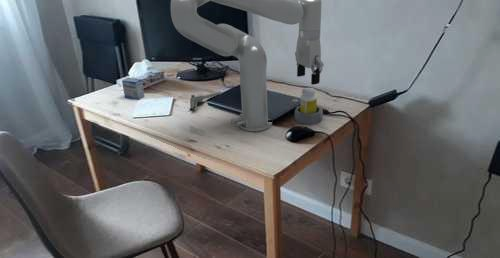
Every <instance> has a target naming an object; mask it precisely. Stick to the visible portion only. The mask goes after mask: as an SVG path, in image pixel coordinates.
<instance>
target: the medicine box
mask: <svg viewBox="0 0 500 258" xmlns="http://www.w3.org/2000/svg"><path fill="white" fill-rule="evenodd" d="M121 84H122V88H123V94H124V98H125V99H128V100H137V101H140V100H141V99H143V98H144V97H145V91H144V85H143V79H142V78H133V77H127V78H124V79H122V80H121Z"/></svg>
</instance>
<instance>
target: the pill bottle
mask: <svg viewBox="0 0 500 258" xmlns="http://www.w3.org/2000/svg"><path fill="white" fill-rule="evenodd" d="M315 92H316V91H315V89H314V88H313V87H305V88H302V89H301V95H300V98H299V99H300V101H299V102H300V103H299V106H300V112H301V113H303V114H314V113H316V108H317V95H316V94H315Z"/></svg>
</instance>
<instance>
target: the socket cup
mask: <svg viewBox="0 0 500 258" xmlns="http://www.w3.org/2000/svg"><path fill="white" fill-rule="evenodd" d="M323 111H324V109H323V108H322V107H321V106H319V105H317V108H316V113H314V114H303V113H301V112H300V105H297V106H296V108H295V109H294V119H295V121H296V122H297V123H299V124H302V125H315V124H316V125H317V124H318V123H321V122H322V121H323V115H324V112H323Z"/></svg>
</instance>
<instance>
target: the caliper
mask: <svg viewBox="0 0 500 258" xmlns="http://www.w3.org/2000/svg"><path fill="white" fill-rule="evenodd" d="M220 93H222V94H223V91H222V92H221V91H215V92H212V93H209V94H204V95H203V94H200V95H196V94H191V96H190V98H189V105H190V109H191V110H194V109H197V105H198V103H201V102H203V101H204V100H205V99H211V98H214V96H215V97H217V96H216V95H218V94H220Z"/></svg>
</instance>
